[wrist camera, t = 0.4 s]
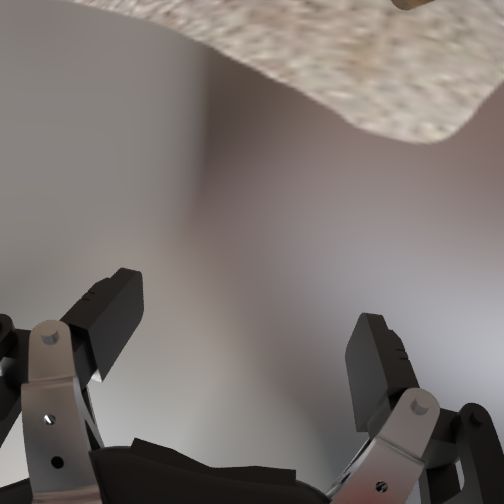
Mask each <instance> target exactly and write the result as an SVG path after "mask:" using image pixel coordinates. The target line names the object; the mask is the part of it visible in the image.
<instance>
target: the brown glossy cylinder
mask: <svg viewBox="0 0 504 504" xmlns="http://www.w3.org/2000/svg"><path fill="white" fill-rule="evenodd" d="M391 1H392V2H393V4H394V5H395V6H396V7H398V8H399V9H401V10H411V9H413V8H416V7H418V6H421V5H423V4H426V3H429V2H431V1H434V0H391Z"/></svg>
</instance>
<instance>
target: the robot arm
mask: <svg viewBox="0 0 504 504" xmlns="http://www.w3.org/2000/svg"><path fill="white" fill-rule="evenodd" d="M143 311H144V301H143V281H142V274H141V272H140V271H135V270H131V269H126V268H120V269H119V270H118V271H117V272H116V273H115V274H114V275H113V276H112V277H111V278H105V279H103V280H101V281H99V282H97V283H95V284H94V285H93V286H92V287H91V288H90V289H89V290H88V292H87V293H85V294H84V295H83V296H82V298H81V299H79V300H78V301H77V302H76V304H74V306H73V307H72V308H71V309H70V310H69V311H68V312H67V313H66V314H65V315H64V316H63V317H62V318H61V319H60V320H59V321H58V320H47V321H44V322H41V323H39V324H38V325H36V326H35V327H34V328H33V329H32V331H31V330H21V329H15V328H14V325H13V322H12V319H11V318H10V317H9V316H7V315H5V314H0V448H1V445H2V444H3V442H4V440H5V438H6V437H7V435H8V433H9V431H10V430H11V428H12V426H13V424H14V423H15V421H16V419H17V418H18V416H19V414H20V413H21V411H22V423H23V435H24V444H25V452H26V459H27V465H28V472H29V478H27V479H24V480H21V481H19V482H16V483H13V484H10V485H7V486H4V487H1V488H0V504H405V503H406V501H407V499H408V497H409V496H410V494H411V492H412V490H413V488H414V486H415V484H416V482H417V481H418V480H419V488H420V497H421V504H504V454H503V451H502V447H501V445H500V441H499V439H498V436H497V433H496V430H495V427H494V425H493V422H492V419H491V417H490V415H489V413H488V412H487V411H486V409H485V408H484V407H482V406H481V405H479V404H476V403H467V404H465V405H464V406H463V407H462V408H461V410H460V411H459V412H454V411H450V410H446V409H442V408H440V406H439V403H438V401H437V400H436V398H435V397H434V396H433V395H432V394H431V393H430V392H428V391H426V390H424V389H421V388H420V387H419V384H418V381H417V379H416V376H415V374H414V371H413V368H412V365H411V363H410V360H408V355H407V353H406V352H405V348H404V346H403V343H402V341H401V339H400V338H399V337H398V336H397V334H396V333H395V332H394V331H393V330H388V327H387V325H386V322H385V320H384V318H383V316H382V315H377V314H370V313H362V314H361V315H360V316H359V319H358V321H357V324H356V326H355V328H354V331H353V333H352V336H351V338H350V340H349V342H348V345H347V348H346V354H345V361H346V367H347V373H348V378H349V384H350V391H351V396H352V402H353V410H354V417H355V424H356V431H357V432H368V433H369V439H368V440H367V441H366V442H365V444H364V445H363V447H362V448H361V449H360V450H359V452H358V453H357V455H356V456H355V457H354V459H353V460H352V461H351V462H350V464H349V465H348V466H347V468H346V469H345V470H344V471H343V473H342V474H341V475H340V476H339V478H338V479H337V480H336V481H335V482H334V483H333V484H332V485H331V486H330V487H329V488H328V489H327V491H326V492H325V493H322V492H321V491H320V490H318V489H316V488H315V487H313V486H311V485H309V484H307V483H304V482H302V481H298V480H296V470H291V469H279V468H270V467H261V466H248V467H227V468H212V467H209V466H206V465H204V464H202V463H200V462H198V461H195V460H193V459H191V458H189V457H187V456H185V455H183V454H181V453H179V452H177V451H175V450H173V449H171V448H167V447H163V446H160V445H157V444H153V443H150V442H147V441H144V440H141V439H138V438H134V441H133V443H132V445H131V446H113V447H104V444H103V441H102V439H101V436H100V433H99V430H98V427H97V423H96V420H95V415H94V412H93V408H92V403H91V399H90V394H89V390H88V386H87V384H88V382H89V380H90V379H91V378H92V379H94V380H97V381H99V382H103V380H104V379H105V377H106V375H107V374H108V372H109V371H110V369H111V367H112V366H113V364H114V362H115V361H116V359H117V357H118V356H119V354H120V353H121V351H122V349H123V348H124V346H125V345H126V343H127V342H128V340H129V339H130V337H131V335H132V334H133V332H134V331H135V329H136V328H137V326H138V325H139V323H140V321H141V319H142V316H143ZM458 460H460V461H461V465H462V470H463V474H464V480H465V481H464V486H463V488H462V490H460V484H459V480H458V474H457V470H456V465H455V463H456V462H457V461H458Z"/></svg>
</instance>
